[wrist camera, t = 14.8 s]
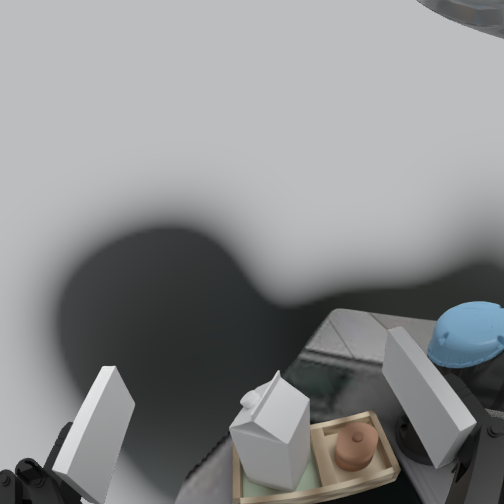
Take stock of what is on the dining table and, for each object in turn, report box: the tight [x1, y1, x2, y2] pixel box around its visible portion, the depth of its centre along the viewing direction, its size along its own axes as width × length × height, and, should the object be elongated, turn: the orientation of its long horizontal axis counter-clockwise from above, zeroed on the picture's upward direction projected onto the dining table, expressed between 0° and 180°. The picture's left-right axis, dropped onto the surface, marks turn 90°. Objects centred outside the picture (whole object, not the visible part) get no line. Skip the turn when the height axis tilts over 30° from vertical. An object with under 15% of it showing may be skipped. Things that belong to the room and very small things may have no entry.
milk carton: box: [229, 371, 310, 493], centre depth 31 cm, size 7×7×19 cm
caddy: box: [233, 410, 401, 504], centre depth 34 cm, size 23×13×7 cm, turn 93°
